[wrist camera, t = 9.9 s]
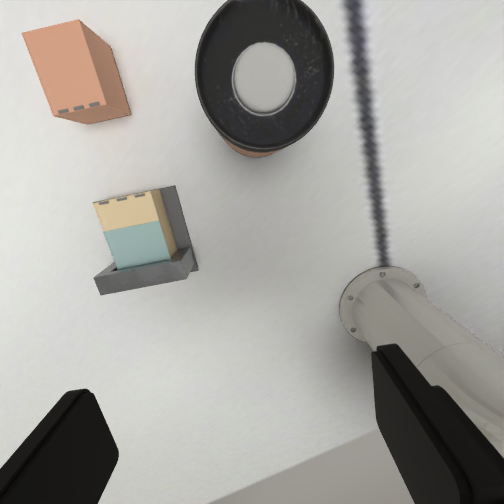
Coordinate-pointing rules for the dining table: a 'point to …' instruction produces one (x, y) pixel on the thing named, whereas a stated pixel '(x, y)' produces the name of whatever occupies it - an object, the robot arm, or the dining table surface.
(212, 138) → the dining table surface
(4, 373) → the dining table surface
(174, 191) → the mat
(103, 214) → the tan and teal block
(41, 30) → the stub
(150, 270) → the grey rectangular collar
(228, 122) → the travel mug
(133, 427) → the dining table surface
